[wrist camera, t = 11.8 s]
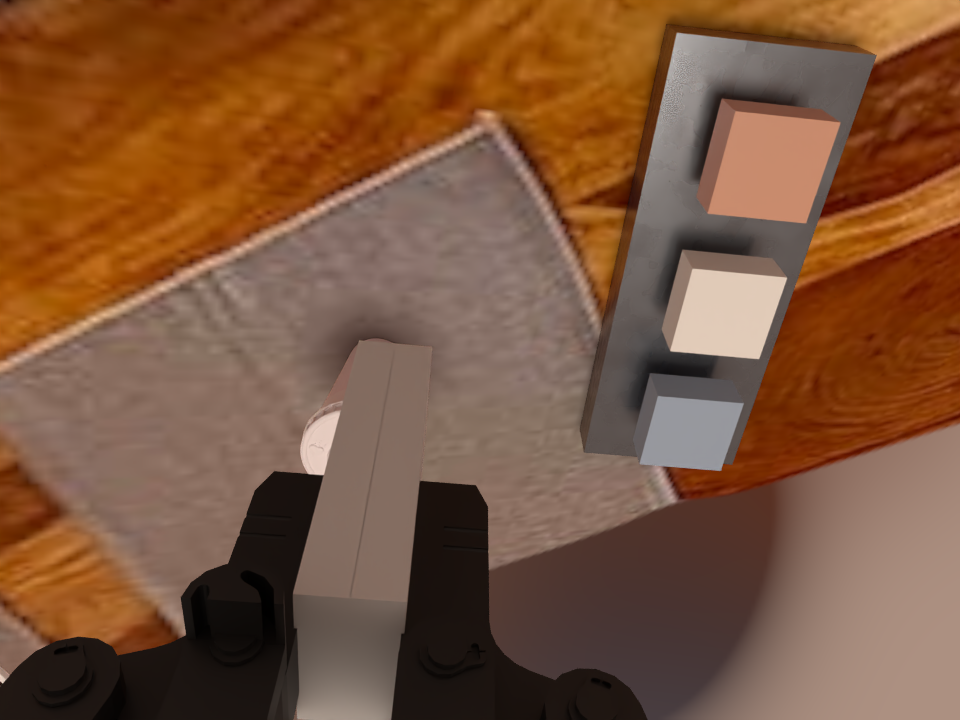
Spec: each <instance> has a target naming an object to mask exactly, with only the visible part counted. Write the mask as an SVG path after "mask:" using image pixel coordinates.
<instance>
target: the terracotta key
mask: <svg viewBox="0 0 960 720" xmlns="http://www.w3.org/2000/svg"><path fill="white" fill-rule="evenodd" d="M840 123H841V122H839V121H838V120H836V119H835V118H834V117H832V116H831V115H829V114H828V113H826V112H825V111H823V110H822V109H815V108H805V107H796V106H787V105H777V104H768V103H759V102H750V101H740V100H731V99H721V103H720V107H719V111H718V115H717V119H716V122H715V126H714V130H713V134H712V138H711V142H710V145H709V149H708V153H707V157H706V161H705V165H704V168H703V172H702V176H701V180H700V184H699V188H698V192H697V195H696V197H697V199H698V200H699V202H700V203H701V205H702V206H703V208H704V209H705V211H706V212H707V213H708V214H716V215H726V216H736V217H746V218H756V219H766V220H777V221H787V222H797V223H806V222H807V219H808V216H809V213H810V210H811V207H812V204H813V202H814V199H815V196H816V193H817V190H818V187H819V184H820V181H821V178H822V175H823V173H824V170H825V167H826V164H827V161H828V158H829V155H830V152H831V149H832V146H833V144H834V141H835V138H836V135H837V132H838V129H839V126H840Z"/></svg>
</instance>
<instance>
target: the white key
mask: <svg viewBox="0 0 960 720" xmlns="http://www.w3.org/2000/svg"><path fill="white" fill-rule="evenodd" d="M786 280H787V277H786V275H785V274H784V273H783V271H782V270H781V269H780V267H779V266H778V265H777V264H776V262H775V261H774V260H773V258H764V257H754V256H744V255H733V254H723V253H713V252H702V251H692V250H682V253H681V257H680V261H679V264H678V268H677V272H676V276H675V280H674V284H673V288H672V291H671V295H670V299H669V303H668V307H667V311H666V314H665V318H664V322H663V326H662V332H663V334H664V337H665V339H666V342H667V344H668V347H669V350H670V351H673V352H684V353H695V354H707V355H718V356H729V357H740V358H751V359H759V358H760V355H761V352H762V349H763V347H764V344H765V341H766V338H767V335H768V332H769V329H770V326H771V323H772V320H773V318H774V315H775V312H776V309H777V306H778V303H779V300H780V297H781V294H782V291H783V289H784V286H785V283H786Z"/></svg>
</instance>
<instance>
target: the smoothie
mask: <svg viewBox="0 0 960 720" xmlns="http://www.w3.org/2000/svg"><path fill="white" fill-rule="evenodd" d="M364 341H374V342H386V343H392V342H390V341H388V340H385V339H379V338H372V339H367V340H364ZM357 346H358V344H357V345H356V346H355V347H354V348H353V350H352V352H351V354H350V355H349V357H348V359H347V361H346V363H345V365H344V367H343V369H342V370H341V372H340V374H339V376H338V378H337V380H336V382H335V384H334V385H333V387H332V389H331V391H330V393H329V395H328V397H327V399H326V400H325V402H324V404H323V406H322V407H321V409H320V410H318V411H317V412H316V413H315V414H314V415H313V416H312V417H311V418H310V419H309V421H308V423H307V425H306V427H305V429H304V432H303V439H302V442H301V450H300V452H301V459H302V462H303V465H304V467H305V469H306V471H307V472H308V474H315V475H324V472H325V469H326V465H327V461H328V457H329V453H330V449H331V446H332V442H333V438H334V434H335V430H336V426H337V423H338V419H339V415H340V411H341V407H342V403H343V400H344V396H345V392H346V388H347V384H348V380H349V377H350V373H351V369H352V365H353V361H354V357H355V354H356V350H357Z"/></svg>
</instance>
